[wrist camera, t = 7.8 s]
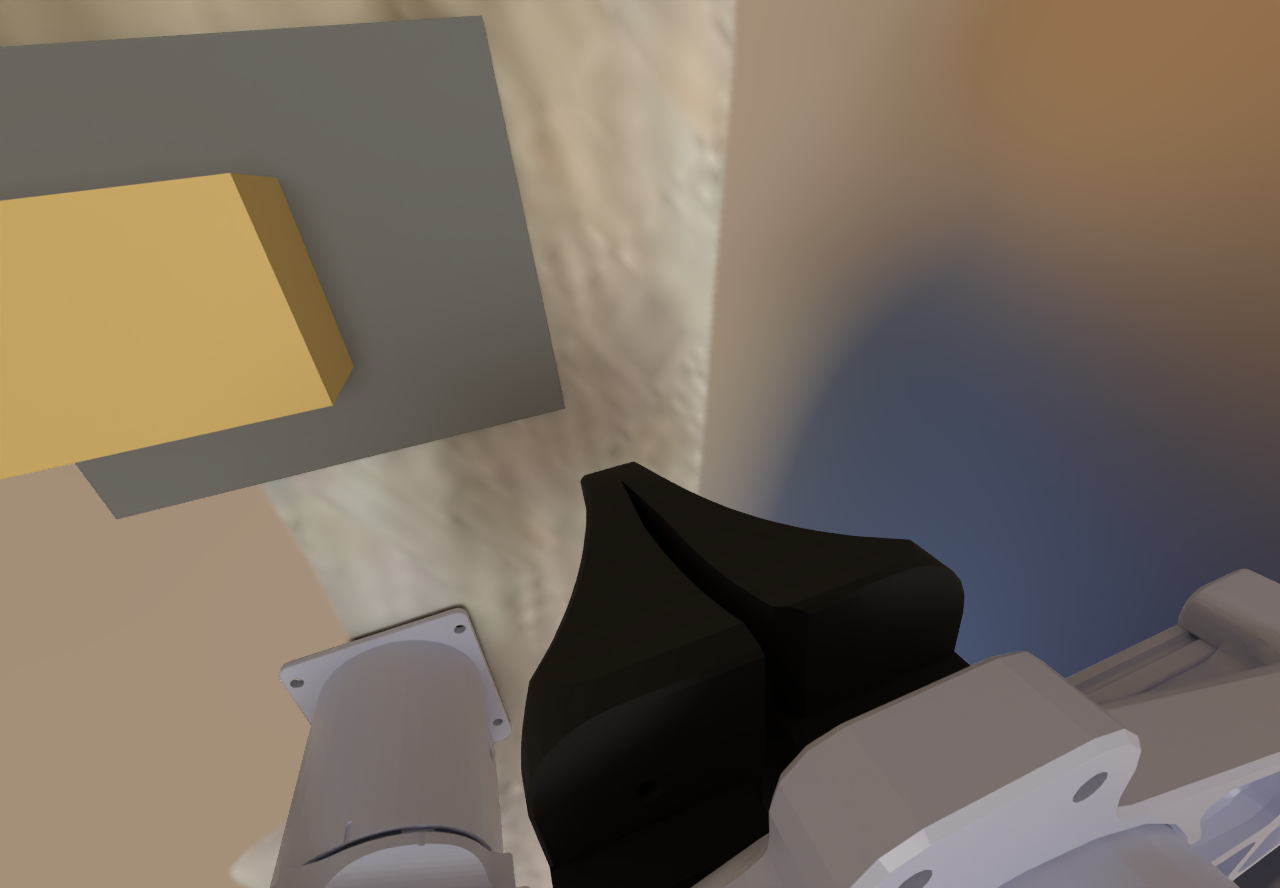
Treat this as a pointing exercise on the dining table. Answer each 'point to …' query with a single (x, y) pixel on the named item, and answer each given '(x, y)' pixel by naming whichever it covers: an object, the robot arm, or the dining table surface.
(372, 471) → the dining table surface
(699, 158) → the dining table surface
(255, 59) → the rubber mat
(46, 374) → the ochre block
